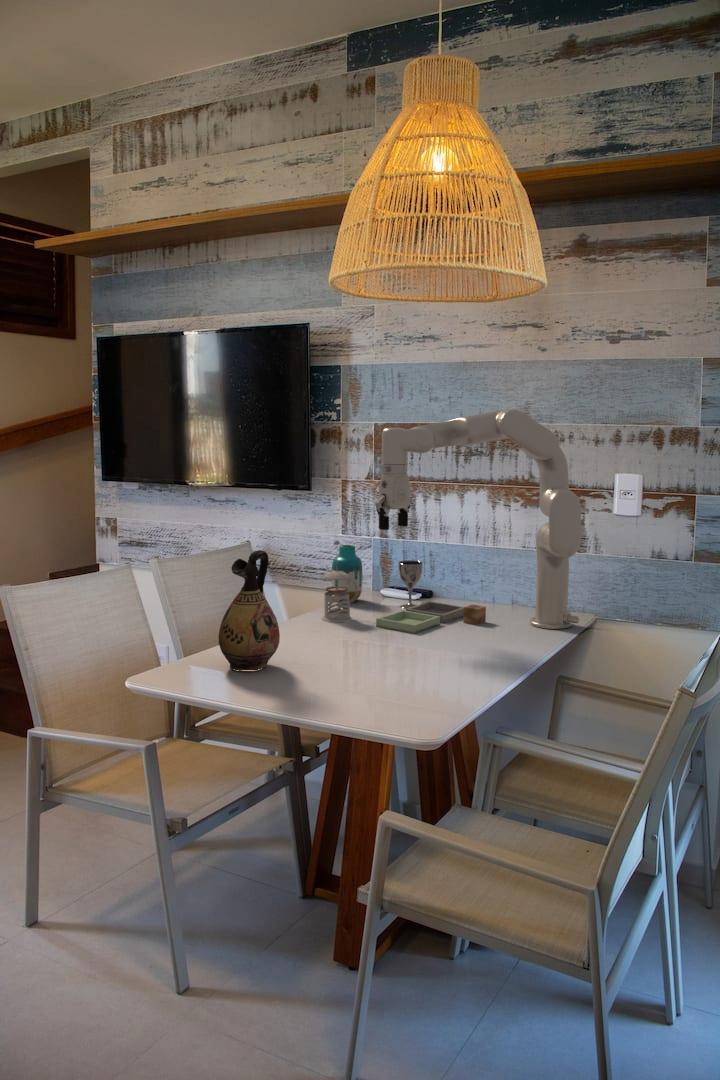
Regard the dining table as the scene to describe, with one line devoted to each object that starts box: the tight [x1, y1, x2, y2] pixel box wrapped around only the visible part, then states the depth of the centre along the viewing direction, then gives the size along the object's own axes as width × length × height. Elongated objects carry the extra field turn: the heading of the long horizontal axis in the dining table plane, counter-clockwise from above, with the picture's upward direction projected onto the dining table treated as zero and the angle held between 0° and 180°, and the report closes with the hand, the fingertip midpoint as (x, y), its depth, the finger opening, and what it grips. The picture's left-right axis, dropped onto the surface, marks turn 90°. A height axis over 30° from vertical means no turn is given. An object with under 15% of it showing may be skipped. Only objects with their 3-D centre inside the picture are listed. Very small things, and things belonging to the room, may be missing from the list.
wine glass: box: [398, 559, 423, 610], centre depth 290 cm, size 8×8×15 cm
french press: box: [321, 540, 358, 624], centre depth 272 cm, size 10×12×25 cm
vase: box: [331, 544, 364, 602], centre depth 298 cm, size 11×11×19 cm
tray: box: [375, 609, 441, 635], centre depth 265 cm, size 14×14×2 cm
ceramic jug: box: [218, 549, 281, 670], centre depth 221 cm, size 17×15×30 cm
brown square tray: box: [405, 601, 465, 624], centre depth 278 cm, size 14×14×2 cm
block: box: [462, 604, 487, 626], centre depth 270 cm, size 5×5×5 cm
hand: (393, 527), depth 258 cm, fingers open, 9 cm apart
